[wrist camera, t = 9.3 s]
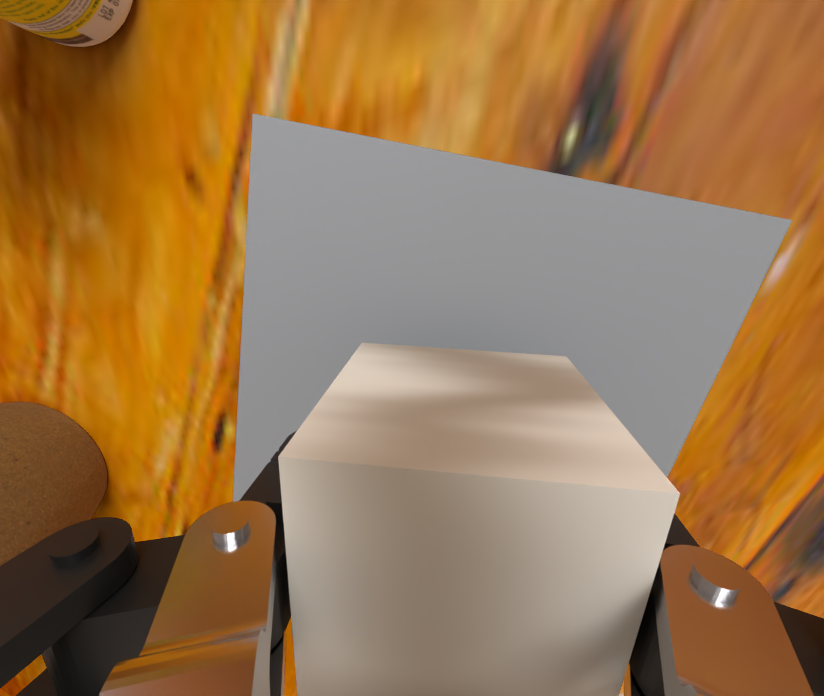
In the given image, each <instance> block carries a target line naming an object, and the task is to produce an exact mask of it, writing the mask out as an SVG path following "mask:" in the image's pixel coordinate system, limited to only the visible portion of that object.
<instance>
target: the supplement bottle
mask: <svg viewBox="0 0 824 696" xmlns="http://www.w3.org/2000/svg"><path fill="white" fill-rule="evenodd" d="M132 2H133V0H0V18H1V19H3V20H5V21H7V22H10V23H12V24H14V25H16V26H18V27H20V28H23V29H25V30H27V31H30V32H32V33H34V34H36V35H39V36H41V37H43V38H46V39H48V40H51V41H53V42H56V43H59V44H63V45H66V46H73V47H87V46H93V45H96V44H99V43H102V42H104V41H105V40H107V39H109V38H110V37H111V36H113V35H114V34H115V33H116V32H117V31H118V30H119V28H120V27H121V26H122V24H123V23H124V22H125V20H126V18H127V16H128V13H129V11H130V8H131V5H132Z"/></svg>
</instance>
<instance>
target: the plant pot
mask: <svg viewBox="0 0 824 696" xmlns="http://www.w3.org/2000/svg"><path fill="white" fill-rule="evenodd" d="M106 488H107V468H106V465H105V462H104V459H103V456H102V454H101V452H100V450H99V448H98V446H97V445H96V444H95V442H94V441H93V440H92V438H91V437H90V436H89V435H88V434H87V432H86V431H85V430H84V429H82V428H81V427H80V426H79V425H78V424H77V423H76V422H74V421H73V420H71V419H70V418H69V417H67V416H65V415H64V414H62V413H60V412H58V411H56V410H54V409H52V408H49V407H46V406H43V405H40V404H35V403H29V402H10V403H0V566H1V565H3V564H4V563H6V562H7V561H9V560H11V559H12V558H14V557H15V556H17V555H19V554H20V553H22V552H24V551H25V550H27V549H28V548H30V547H32V546H33V545H35V544H37V543H38V542H40V541H41V540H43V539H45V538H46V537H48V536H50V535H52V534H53V533H55V532H57V531H59V530H61V529H63V528H66V527H68V526H71V525H73V524H76V523H79V522H82V521H86V520H90V519H91V518H92V516H93V515H94V513H95V511H96V509H97V508H98V506H99V504H100V502H101V500H102V499H103V497H104V494H105V492H106Z"/></svg>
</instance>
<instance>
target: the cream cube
mask: <svg viewBox="0 0 824 696" xmlns="http://www.w3.org/2000/svg"><path fill="white" fill-rule="evenodd" d="M278 461H279V473H280V485H281V498H282V510H283V522H284V535H285V547H286V559H287V572H288V584H289V596H290V609H291V621H292V633H293V646H294V658H295V670H296V683H297V695H298V696H619V693H620V690H621V686H622V683H623V680H624V676H625V673H626V670H627V667H628V663H629V660H630V657H631V653H632V650H633V647H634V644H635V640H636V637H637V634H638V631H639V627H640V624H641V621H642V617H643V614H644V611H645V608H646V604H647V601H648V598H649V594H650V591H651V588H652V585H653V581H654V578H655V575H656V571H657V568H658V565H659V562H660V558H661V555H662V552H663V548H664V545H665V542H666V539H667V535H668V532H669V529H670V525H671V522H672V519H673V516H674V512H675V509H676V506H677V502H678V499H679V496H680V493H679V492H678V490H677V489H676V488H675V487H674V486H673V484H672V483H671V482H670V481H669V480H668V478H667V477H666V476H665V475H664V474H663V472H662V471H661V470H660V469H659V468H658V466H657V465H656V464H655V463H654V461H653V460H652V459H651V458H650V457H649V455H648V454H647V453H646V452H645V451H644V449H643V448H642V447H641V446H640V445H639V443H638V442H637V441H636V440H635V439H634V437H633V436H632V435H631V434H630V433H629V431H628V430H627V429H626V428H625V427H624V425H623V424H622V423H621V422H620V420H619V419H618V418H617V417H616V416H615V414H614V413H613V412H612V411H611V410H610V408H609V407H608V406H607V405H606V404H605V402H604V401H603V400H602V399H601V398H600V396H599V395H598V394H597V393H596V392H595V390H594V389H593V388H592V387H591V385H590V384H589V383H588V382H587V381H586V379H585V378H584V377H583V376H582V375H581V373H580V372H579V371H578V370H577V369H576V367H575V366H574V365H573V364H572V363H571V361H570V360H569V359H568V358H567V357H566V356H555V355H539V354H524V353H509V352H494V351H479V350H464V349H449V348H434V347H419V346H404V345H389V344H374V343H361V345H360V346H359V347H358V349H357V350H356V351H355V353H354V354H353V355H352V357H351V358H350V360H349V361H348V362H347V364H346V365H345V366H344V368H343V369H342V370H341V372H340V373H339V375H338V376H337V377H336V379H335V380H334V381H333V383H332V384H331V385H330V387H329V388H328V390H327V391H326V392H325V394H324V395H323V396H322V398H321V399H320V400H319V402H318V403H317V405H316V406H315V407H314V409H313V410H312V411H311V413H310V414H309V415H308V417H307V418H306V419H305V421H304V422H303V424H302V425H301V426H300V428H299V429H298V430H297V432H296V433H295V434H294V436H293V437H292V439H291V440H290V441H289V443H288V444H287V445H286V447H285V448H284V449H283V451H282V452H281V454H280V455H279V456H278Z"/></svg>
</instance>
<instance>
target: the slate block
mask: <svg viewBox="0 0 824 696" xmlns="http://www.w3.org/2000/svg"><path fill="white" fill-rule="evenodd" d="M791 222H792V220H789V219H784V218H779V217H774V216H769V215H764V214H759V213H754V212H749V211H744V210H738V209H733V208H728V207H723V206H718V205H713V204H708V203H703V202H698V201H693V200H688V199H683V198H678V197H673V196H668V195H662V194H657V193H652V192H647V191H642V190H637V189H632V188H627V187H622V186H617V185H612V184H607V183H602V182H597V181H592V180H586V179H581V178H576V177H571V176H566V175H561V174H556V173H551V172H546V171H541V170H536V169H531V168H526V167H521V166H516V165H510V164H505V163H500V162H495V161H490V160H485V159H480V158H475V157H470V156H465V155H460V154H455V153H450V152H445V151H440V150H434V149H429V148H424V147H419V146H414V145H409V144H404V143H399V142H394V141H389V140H384V139H379V138H374V137H369V136H364V135H358V134H353V133H348V132H343V131H338V130H333V129H328V128H323V127H318V126H313V125H308V124H303V123H298V122H293V121H288V120H282V119H277V118H272V117H267V116H262V115H257V114H253V119H252V138H251V158H250V177H249V197H248V216H247V236H246V255H245V275H244V294H243V314H242V333H241V353H240V372H239V391H238V411H237V430H236V450H235V469H234V489H233V502H236V501H239V500H240V499H241V498H242V496H243V495H244V494H245V492H246V491H247V490H248V489H249V487H250V486H251V485H252V483H253V482H254V481H255V479H256V478H257V477H258V475H259V474H260V473H261V471H262V470H263V469H264V467H265V466H266V465H267V463H268V462H270V461H271V458H272V457H273V456H274V454H275V453H276V452H277V451H279V448H280V446H281V445H282V444H283V442H284V441H285V440H286V438H287V437H288V436H289V435H290V434H292V433H293V432H295V431H297V430H298V429H299V428H300V426H301V425H302V424H303V422H304V421H305V419H306V418H307V417H308V415H309V414H310V413H311V411H312V410H313V409H314V407H315V406H316V405H317V403H318V402H319V400H320V399H321V398H322V396H323V395H324V394H325V392H326V391H327V390H328V388H329V387H330V385H331V384H332V383H333V381H334V380H335V379H336V377H337V376H338V375H339V373H340V372H341V370H342V369H343V368H344V366H345V365H346V364H347V362H348V361H349V360H350V358H351V357H352V355H353V354H354V353H355V351H356V350H357V349H358V347H359V346H360V345H361V343H374V344H389V345H404V346H419V347H434V348H449V349H464V350H479V351H494V352H509V353H524V354H539V355H555V356H566V357H567V358H568V359H569V360H570V361H571V363H572V364H573V365H574V366H575V367H576V369H577V370H578V371H579V372H580V373H581V375H582V376H583V377H584V378H585V379H586V381H587V382H588V383H589V384H590V385H591V387H592V388H593V389H594V390H595V392H596V393H597V394H598V395H599V396H600V398H601V399H602V400H603V401H604V402H605V404H606V405H607V406H608V407H609V408H610V410H611V411H612V412H613V413H614V414H615V416H616V417H617V418H618V419H619V420H620V422H621V423H622V424H623V425H624V427H625V428H626V429H627V430H628V431H629V433H630V434H631V435H632V436H633V437H634V439H635V440H636V441H637V442H638V443H639V445H640V446H641V447H642V448H643V449H644V451H645V452H646V453H647V454H648V455H649V457H650V458H651V459H652V460H653V461H654V463H655V464H656V465H657V466H658V468H659V469H660V470H661V471H662V472H663V474H664V475H665V476H666V477H668V475H669V473H670V471H671V469H672V467H673V465H674V463H675V461H676V459H677V456H678V454H679V452H680V450H681V448H682V446H683V444H684V442H685V440H686V438H687V436H688V434H689V432H690V430H691V428H692V426H693V424H694V421H695V419H696V417H697V415H698V413H699V411H700V409H701V407H702V405H703V403H704V401H705V399H706V397H707V395H708V393H709V391H710V389H711V386H712V384H713V382H714V380H715V378H716V376H717V374H718V372H719V370H720V368H721V366H722V364H723V362H724V360H725V358H726V356H727V353H728V351H729V349H730V347H731V345H732V343H733V341H734V339H735V337H736V335H737V333H738V331H739V329H740V327H741V325H742V323H743V321H744V318H745V316H746V314H747V312H748V310H749V308H750V306H751V304H752V302H753V300H754V298H755V296H756V294H757V292H758V290H759V288H760V286H761V283H762V281H763V279H764V277H765V275H766V273H767V271H768V269H769V267H770V265H771V263H772V261H773V259H774V257H775V255H776V253H777V251H778V248H779V246H780V244H781V242H782V240H783V238H784V236H785V234H786V232H787V230H788V228H789V226H790V224H791Z"/></svg>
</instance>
